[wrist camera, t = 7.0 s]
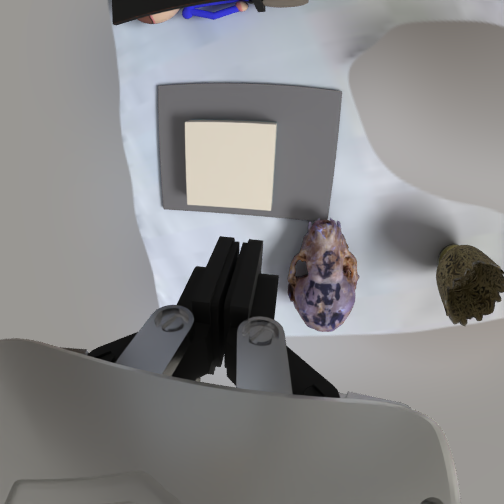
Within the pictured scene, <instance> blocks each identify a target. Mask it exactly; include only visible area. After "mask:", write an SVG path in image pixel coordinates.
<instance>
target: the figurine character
mask: <svg viewBox="0 0 504 504" xmlns="http://www.w3.org/2000/svg"><path fill="white" fill-rule="evenodd" d="M233 2H237V3H236V5H235V6H232V7H228V8H225V9H222V10H219V11H216V12H209V11H204V10H198V9H195V8H199V7H205V6H211V5H218V4H225V3H233ZM247 2H248V3H251V4H253V3H254V5H255V7H256V9H257V11H258V12H265V6H269V7H295V6H301V5H304V4H306V3H308V0H112V15H113V24H114V25H119V24H122V23H125V22H129V21H132V20H135V19H138V20H139V21H141V22H144V23H148V24H157V23H162V22H164V21H167V20H169V19H170V18H172V17H173V16H174V15H175V14H176V13H177V12H178V11H179V9H180V8H184V9H183V11H182V15H183V17H184V18H186V19H188V18H191V17H192V16H198V17H204V18H208V19H213V20H214V19H217V18H220V17H223V16H226V15H229V14H232V13H235V12H239V11H245V10H247V8H248V4H247Z"/></svg>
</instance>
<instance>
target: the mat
mask: <svg viewBox="0 0 504 504" xmlns="http://www.w3.org/2000/svg"><path fill="white" fill-rule="evenodd" d="M341 98H342V91H335V90H327V89H318V88H309V87H298V86H285V85H269V84H243V83H204V84H178V85H162V86H158V113H159V144H160V165H161V181H162V196H163V208H164V209H169V210H185V211H200V212H214V213H228V214H241V215H253V216H265V217H276V218H287V219H298V220H309V221H317V220H318V219H319V218H320V220H327V219H328V213H329V206H330V198H331V191H332V183H333V176H334V167H335V159H336V150H337V141H338V131H339V121H340V110H341ZM192 119H214V120H249V121H268V122H277V136H276V153H275V170H274V186H273V201H272V208H271V211H267V210H255V209H242V208H229V207H214V206H199V205H187V185H186V155H185V122H186V121H189V120H192Z"/></svg>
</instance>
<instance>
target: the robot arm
mask: <svg viewBox="0 0 504 504" xmlns="http://www.w3.org/2000/svg"><path fill="white" fill-rule="evenodd" d="M262 251H263V241H261V240H251V239H249V241H248V243H244V242H243V244H242V247H241V251H240V254H239V242H235V239H234V238H231V237H221V236H220V237H219V239H218V242H217V244H216V246H215V248H214V251H213V253H212V255H211V257H210V259H209V262H208V264H207V266H206V267H199V266H196V267H195V269H194V270H193V272H192V274H191V276H190V279H189V281H188V283H187V285H186V287H185V289H184V291H183V293H182V295H181V297H180V299H179V301H178V303H177V305H168V306H164V307H161V308H159V309H157V310H156V311H155V312H154V313H153V314H152V315H151V316H150V318H149V319H148V320H147V321H146V323H145V324H144V325H143V327H142V328H141V329H140V330H139V332H137V333H134V334H132V335H129V336H126V337H124V338H121V339H119V340H116V341H114V342H111V343H108V344H106V345H103V346H101V347H98V348H96V349H94V350H92V351H91V352H90V353H88V351H87V349H74V348H61V347H57V346H53V345H49V344H46V343H43V342H39V341H34V340H29V339H19V338H12V339H2V340H0V504H461V498H460V490H459V484H458V478H457V473H456V468H455V464H454V460H453V456H452V452H451V449H450V446H449V443H448V440H447V438H446V436H445V434H444V432H443V430H442V429H441V427H440V426H439V425H438V423H437V422H435V421H434V420H433V419H432V418H430V417H428V416H427V415H425V414H423V413H421V412H419V411H416V410H413V409H411V408H410V407H409V406H408V405H406V404H403V403H401V402H396V401H391V400H386V399H381V398H376V397H371V396H367V395H362V394H357V393H353V392H347V394H343V393H339V392H338V390H337V389H336V388H335V387H334V386H333V385H332V384H331V383H330V382H328V381H327V380H326V379H325V378H324V377H323V376H321V375H320V374H319V373H318V372H317V371H315V370H314V369H313V368H312V367H311V366H309V365H308V364H307V363H306V362H305V361H304V360H302V359H301V358H300V357H299V356H298V355H297V354H295V353H294V352H293V351H292V350H291V349H290V348H288V347H287V346H286V340H285V333H284V330H283V327H282V326H281V325H280V324H279V323H278V322H277V321H275V320H274V316H275V307H276V297H277V288H278V278H279V275H269V274H261V265H262ZM224 354H225V355H224ZM224 356H225V368H227V377H228V378H229V379H230V380H231V381H232V382H233V383H234V384H235V385H236V388H235V387H228V386H222V385H215V384H209V383H204V382H200V377H202V376H204V375H205V374H214V371H215V367H216V366H217V367H221V364H222V360H223V357H224Z"/></svg>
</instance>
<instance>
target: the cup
mask: <svg viewBox="0 0 504 504" xmlns="http://www.w3.org/2000/svg"><path fill="white" fill-rule="evenodd" d="M502 274H504V272H503V271H502V270H501V268H500V266H498V265H497V264H496V263H495V262H493V261H492V260H491V259H490V258H489V257H488V256H487V255H485V254H484V253H483V252H482V251H480V250H479V249H477V248H475V247H473V246H469V245H456V244H452V245H449V246H447V247H445V248H444V249H443V250H442V252H441V253H440V256H439V264H438V267H437V272H436V280H437V286H438V290H439V293H440V296H441V299H442V302H443V305H444V308H445V311H446V315H447V316H449V318H450V320H451V321H452V322H453V324H457V323H459V322H460V324H461V325H463V326H466V324H467V320H468V319H472V318H473V317H474V318H476V320H477V321H481V320H482V318H483V315H489V314H491V313H493V311H494V307H495V302H496V301H498V302H500V301H501V297H500V295H499V292H500V293H502V292H504V276H503V275H502ZM466 319H467V320H466Z"/></svg>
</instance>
